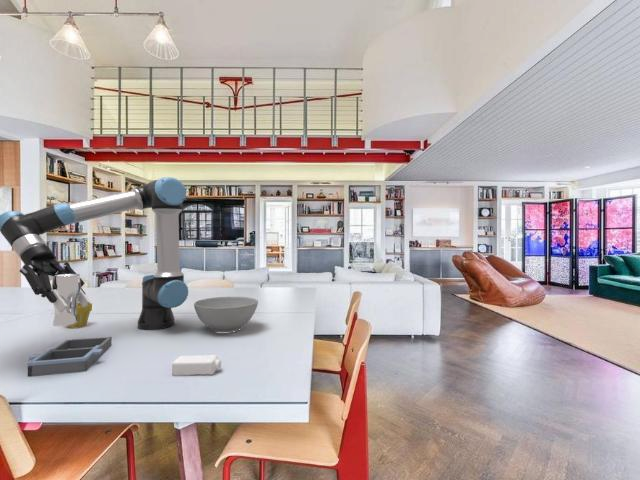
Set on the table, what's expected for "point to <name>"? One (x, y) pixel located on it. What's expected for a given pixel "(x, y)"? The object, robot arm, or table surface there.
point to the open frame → (68, 356)
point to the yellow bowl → (82, 315)
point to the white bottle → (196, 365)
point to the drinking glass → (67, 298)
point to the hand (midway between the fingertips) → (75, 306)
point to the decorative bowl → (225, 312)
